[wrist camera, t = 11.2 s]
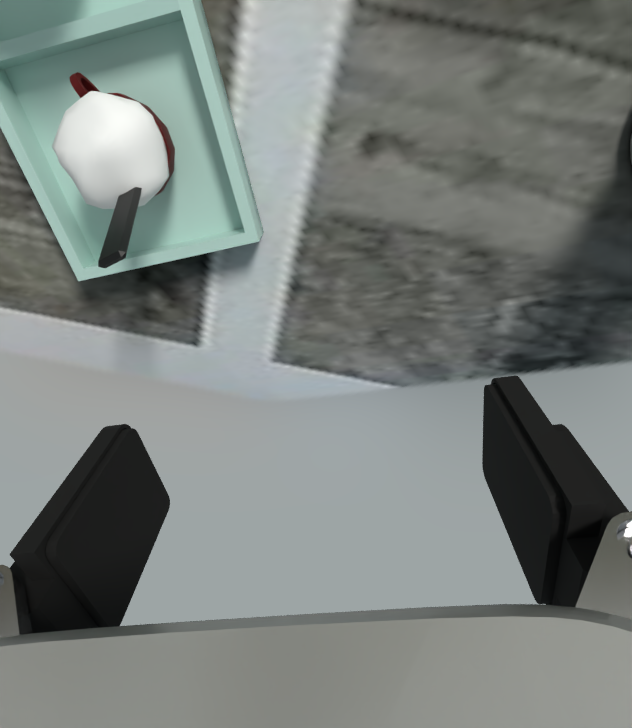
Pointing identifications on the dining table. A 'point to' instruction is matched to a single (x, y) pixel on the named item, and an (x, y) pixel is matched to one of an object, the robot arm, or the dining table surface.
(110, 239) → the cocoa
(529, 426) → the robot arm
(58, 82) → the tray
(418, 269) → the dining table surface
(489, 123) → the dining table surface
